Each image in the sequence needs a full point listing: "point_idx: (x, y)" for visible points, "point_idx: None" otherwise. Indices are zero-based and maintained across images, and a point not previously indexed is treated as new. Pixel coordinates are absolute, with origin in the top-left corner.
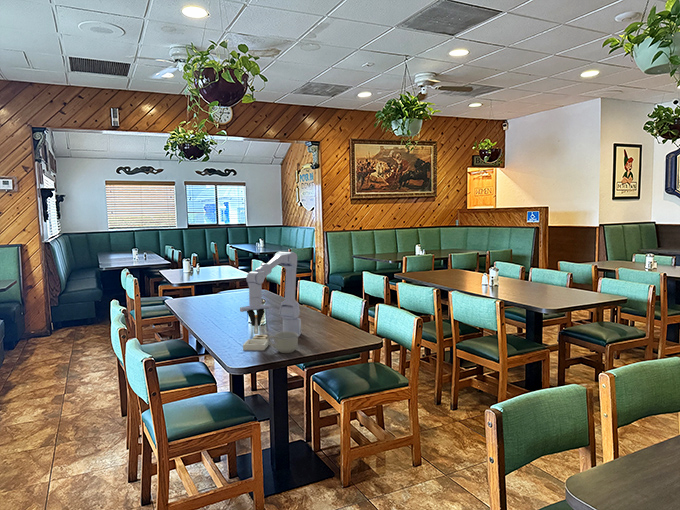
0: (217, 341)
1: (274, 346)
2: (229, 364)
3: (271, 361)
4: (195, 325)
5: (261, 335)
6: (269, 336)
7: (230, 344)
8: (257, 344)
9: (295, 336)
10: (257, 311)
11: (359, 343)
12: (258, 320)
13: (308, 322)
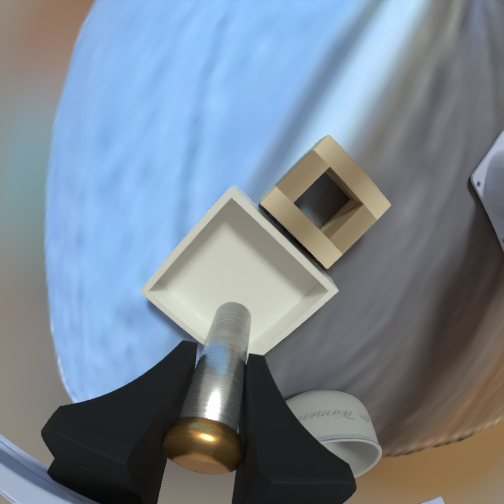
0: (127, 26)
1: None
2: (70, 387)
3: None
4: None
5: (352, 183)
6: None
7: (144, 118)
8: (268, 247)
9: (370, 450)
10: (245, 491)
11: (491, 415)
12: (242, 415)
13: None
